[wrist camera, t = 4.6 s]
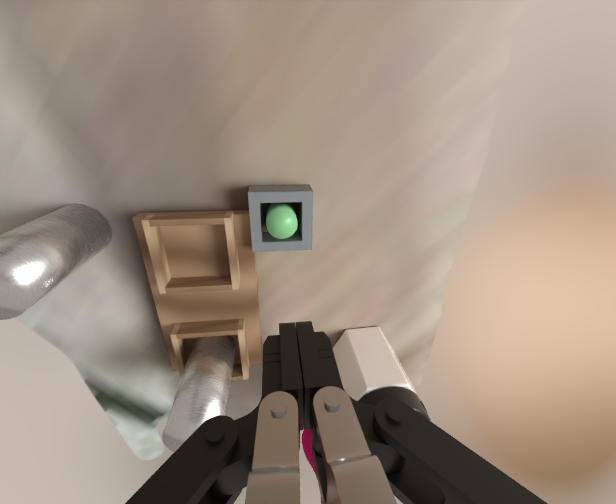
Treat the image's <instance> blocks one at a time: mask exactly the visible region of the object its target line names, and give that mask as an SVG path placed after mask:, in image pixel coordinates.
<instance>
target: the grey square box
mask: <svg viewBox="0 0 616 504" xmlns="http://www.w3.org/2000/svg"><path fill="white" fill-rule="evenodd" d="M248 202H249V214H250V227H251V239H252V252H265V251H289V250H312V221H313V190H312V189H311V187H310V185H264V186H249V190H248ZM280 202H300V231H295V233H294V234H293V235H292V236H290V237H288V238H285V239H279V238H275V237H273V236H272V235H271V234H270V233H269V232H263V230H262V214H261V203H280Z"/></svg>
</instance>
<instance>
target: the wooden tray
mask: <svg viewBox="0 0 616 504" xmlns="http://www.w3.org/2000/svg"><path fill="white" fill-rule="evenodd" d="M132 218H133V222H134V226H135V230H136V233H137V237H138V241H139V245H140V249H141V252H142V256H143V260H144V264H145V267H146V271H147V275H148V279H149V283H150V286H151V290H152V294H153V298H154V301H155V305H156V309H157V313H158V317H159V320H160V324H161V328H162V332H163V336H164V339H165V343H166V347H167V351H168V354H169V358H170V362H171V366H172V370H173V371H178V370H179V372H180V376H181V378H182V375H183V372H184V369H185V366H186V363H187V360H188V357H189V354H190V351H191V348H192V345H193V342H194V340H195V338H196V337H210V336H224V335H231V336H232V337H233V339H234V340H235V343H236V349H235V356H234V363H233V370H232V377H231V381H235V380H246V379H248V378H249V364H260V363H262V342H261V329H260V316H259V302H258V289H257V276H256V263H255V252H252V239H251V227H250V214H249V210H228V211H187V212H146V213H138V214H136V215H135V216H134V217H132Z"/></svg>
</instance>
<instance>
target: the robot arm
mask: <svg viewBox="0 0 616 504" xmlns="http://www.w3.org/2000/svg"><path fill="white" fill-rule="evenodd" d="M279 333H280V335H273V336H268V337H267V339H266V341H265V342H264V344H263V378H262V398H261V401H260V403H259V405H258V406H257V407H256V408H255V409H254V410H253V411H252V412H251V413H249V414H248V415H246V416H244V417H241V418H239V419H237V420H233V419H232V418H230V417H228V416H224V415H219V416H214V417H211V418H209V419H208V420H206V421H205V422H203V423H202V424H201V425H200V426H199V427H198V428H197V429H196V430H195V432H194V433H193V434H192V435H191V436H190V437H189V438H188V439H187V440H186V441H185V442H184V443H183V444H182V445H181V446H180V447H179V448H178V449H177V450H176V451H175V453H173V454H172V455H171V457H170V458H169V459H168V460H167V461H166V462H165V463H164V464H163V465H162V466H161V467H160V468H159V469H158V470H157V471H156V472H155V473H154V475H152V476H151V477H150V478H149V479H148V480H147V481H146V483H145V484H144V485H143V486H142V487H141V488H140V489H139V490H138V491H137V492H136V493H135V494H134V495H133V496H132V497H131V498H130V499H129V500H128V501H127V502H126V503H125V504H233V503H234V502H235V500H236V499H237V497H238V496H239V494H240V493H241V491H242V489H243V488H244V487H246V486H247V491H246V499H245V504H300V474H299V473H300V472H299V449H300V430H303V421H304V430H306V429H310V430H311V437H312V454H313V459H314V464H315V469H316V474H317V479H318V484H319V489H320V494H321V499H322V504H397V502H396V500H395V497H394V495H395V496H396V497H397V498H398V499H399V500H400V501H401V502H402V503H403V504H547V503H546V502H544V501H543V500H541V499H540V498H539V497H537V496H536V495H534V494H533V493H532V492H530V491H529V490H527V489H526V488H525V487H523V486H521V485H520V484H519V483H517V482H516V481H515V480H513V479H512V478H510V477H508V476H507V475H506V474H505V473H503V472H502V471H500V470H499V469H497V468H496V467H495V466H493V465H492V464H490V463H489V462H488V461H486V460H485V459H483V458H482V457H480V456H479V455H478V454H476V453H475V452H473V451H472V450H470V449H469V448H468V447H466V446H465V445H463V444H462V443H460V442H459V441H458V440H456V439H455V438H453V437H452V436H451V435H449V434H448V433H446V432H445V431H443V430H442V429H441V428H439V427H437V426H436V425H435V424H433V423H432V422H431V421H429V420H428V419H426V418H425V417H424V416H422V415H421V414H419V413H418V412H416V411H415V410H414V409H412V408H411V407H409V406H408V405H406V404H405V403H403V402H402V401H400V400H397V399H393V398H386V399H383V400H381V401H379V402H378V404H377V405H376V406H375V405H370V404H366V403H361V402H358V401H356V400H354V399H353V398H351V397H350V396H349V395H348V394H347V393H346V391H345V390H344V388H343V385H342V381H341V378H340V374H339V370H338V367H337V363H336V359H335V356H334V352H333V349H332V345H331V341H330V339H329V338H328V336H327V335H326V334H325V333H324V332H314V331H313V326H312V322H311V321H306V322H296V328H295V322H293V323H279ZM393 494H394V495H393Z"/></svg>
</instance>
